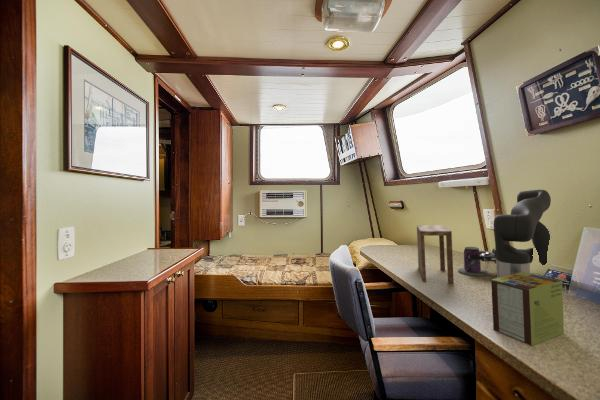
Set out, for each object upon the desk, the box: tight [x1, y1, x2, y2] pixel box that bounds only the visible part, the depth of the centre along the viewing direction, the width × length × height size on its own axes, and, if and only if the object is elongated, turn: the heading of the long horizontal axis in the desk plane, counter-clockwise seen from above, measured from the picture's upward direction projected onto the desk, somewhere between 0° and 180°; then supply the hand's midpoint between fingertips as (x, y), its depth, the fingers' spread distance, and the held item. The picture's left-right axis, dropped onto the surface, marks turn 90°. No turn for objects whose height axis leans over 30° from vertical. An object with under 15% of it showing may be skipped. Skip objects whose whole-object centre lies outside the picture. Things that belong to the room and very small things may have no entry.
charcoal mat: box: [457, 267, 489, 277], centre depth 141 cm, size 13×13×1 cm
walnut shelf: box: [416, 224, 455, 285], centre depth 140 cm, size 13×25×24 cm, turn 161°
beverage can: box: [463, 246, 482, 272], centre depth 141 cm, size 7×7×12 cm
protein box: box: [490, 272, 565, 347], centre depth 81 cm, size 10×15×16 cm
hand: (467, 255), depth 142 cm, fingers open, 8 cm apart
